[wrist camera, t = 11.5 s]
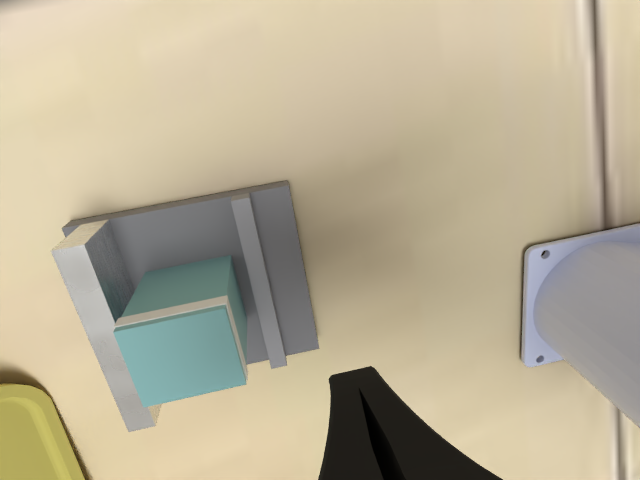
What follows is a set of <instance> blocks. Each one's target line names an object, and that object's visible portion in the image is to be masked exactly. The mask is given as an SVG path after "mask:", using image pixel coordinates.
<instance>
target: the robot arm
mask: <svg viewBox="0 0 640 480" xmlns="http://www.w3.org/2000/svg"><path fill="white" fill-rule="evenodd" d="M545 250H546V251H545ZM543 251H545V254H544V255H542V256H541V254H542V252H543ZM538 356H539V357H538ZM537 357H538V358H537ZM521 360H522V362H523V363H524V364H525V366H527V367H534V366H538V365H543V364H547V363H551V362H555V361H560V360H566V361H567V362H568V363H569V364H570V365H571V366H572V367H573V368H574V369H575V370H576V371H578V372H579V373H580V374H581V375H582V376H583V377H584V378H585V379H586V380H587V381H589V382H590V383H591V384H592V385H593V386H594V387H595V388H596V389H597V390H598V391H600V392H601V393H602V394H603V395H604V396H605V397H606V398H607V399H608V400H609V401H610V402H612V403H613V404H614V405H615V406H616V407H617V408H618V409H619V410H620V411H621V412H623V413H624V414H625V415H626V416H627V417H628V418H629V419H630V420H631V421H632V422H634V423H635V424H636V425H637V426H638V427H639V428H640V223H639V224H634V225H629V226H625V227H620V228H615V229H610V230H605V231H601V232H596V233H591V234H586V235H582V236H577V237H572V238H567V239H563V240H558V241H553V242H548V243H544V244H539V245H534V246H531V247H529V248H528V249H527V250H526V252H525V256H524V288H523V321H522V354H521ZM329 383H330V390H331V406H330V418H329V428H328V435H327V441H326V447H325V452H324V458H323V462H322V467H321V471H320V475H319V479H318V480H503V479H501V478H499V477H498V476H496V475H495V474H493V473H491V472H490V471H488V470H486V469H485V468H483V467H482V466H480V465H479V464H477V463H476V462H474V461H473V460H472V459H470V458H469V457H467V456H466V455H464V454H463V453H462V452H460V451H459V450H458V449H456V448H455V447H454V446H452V445H451V444H450V443H449V442H447V441H446V440H445V439H444V438H442V437H441V436H440V435H439V434H438V433H436V432H435V431H434V430H433V429H432V428H431V427H430V426H428V425H427V424H426V423H425V422H424V421H423V420H422V419H421V418H420V417H419V416H417V415H416V414H415V413H414V412H413V411H412V410H411V409H410V408H409V407H408V406H407V405H406V404H405V403H404V402H403V401H402V400H401V399H400V398H399V397H398V395H397V394H396V393H395V392H394V391H393V390H392V389H391V388H390V387H389V385H388V384H387V383H386V382H385V381H384V380H383V378H382V377H381V376H380V375H379V373H378V372H377V371H376V369H375V368H373V367H372V366H370V367H365V368H361V369H357V370H352V371H348V372H343V373H339V374H335V375H332V376H331V377H330V378H329Z"/></svg>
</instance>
